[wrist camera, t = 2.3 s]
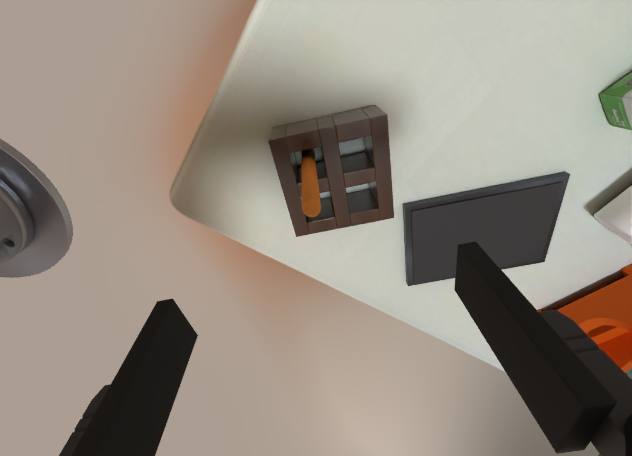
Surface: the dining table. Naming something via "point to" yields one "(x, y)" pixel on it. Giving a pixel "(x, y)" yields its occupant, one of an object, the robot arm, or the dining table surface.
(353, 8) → the dining table surface
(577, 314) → the orange slotted block
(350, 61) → the dining table surface
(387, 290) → the dining table surface
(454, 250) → the tablet
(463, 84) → the dining table surface
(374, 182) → the pen stand
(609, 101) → the ink box
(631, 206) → the mug
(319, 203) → the stylus
